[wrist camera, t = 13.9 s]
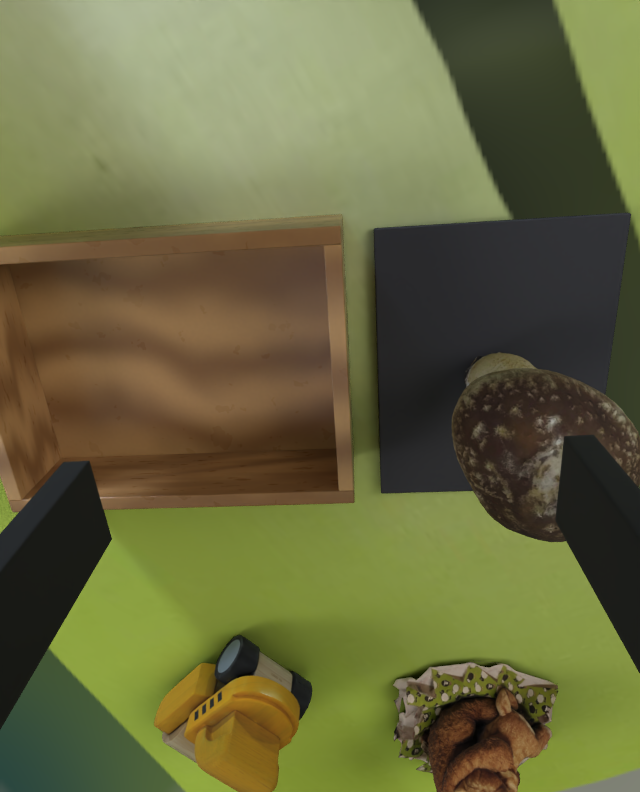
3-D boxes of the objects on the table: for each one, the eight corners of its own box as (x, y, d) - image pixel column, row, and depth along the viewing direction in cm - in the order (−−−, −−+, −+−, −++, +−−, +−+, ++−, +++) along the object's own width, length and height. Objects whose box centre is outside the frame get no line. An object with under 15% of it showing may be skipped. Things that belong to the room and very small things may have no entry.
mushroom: (559, 416, 41) (665, 549, 27) (440, 440, 42) (483, 579, 28) (546, 290, 37) (660, 370, 24) (416, 320, 39) (452, 413, 25)
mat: (373, 228, 37) (374, 229, 36) (627, 212, 36) (631, 213, 35) (380, 489, 45) (381, 493, 44) (589, 483, 44) (592, 487, 43)
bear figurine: (545, 759, 56) (593, 910, 45) (393, 758, 57) (403, 905, 46) (559, 657, 51) (618, 800, 40) (391, 659, 52) (402, 798, 41)
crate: (-11, 236, 38) (-75, 251, 33) (342, 214, 37) (340, 225, 31) (55, 466, 46) (12, 512, 40) (354, 457, 44) (354, 503, 38)
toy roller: (157, 695, 55) (116, 809, 46) (251, 616, 51) (228, 724, 41) (227, 739, 57) (202, 858, 48) (323, 667, 53) (317, 783, 43)
